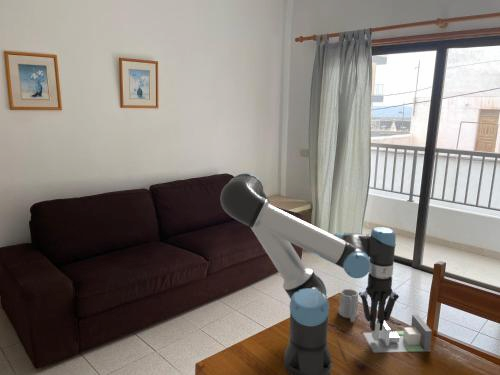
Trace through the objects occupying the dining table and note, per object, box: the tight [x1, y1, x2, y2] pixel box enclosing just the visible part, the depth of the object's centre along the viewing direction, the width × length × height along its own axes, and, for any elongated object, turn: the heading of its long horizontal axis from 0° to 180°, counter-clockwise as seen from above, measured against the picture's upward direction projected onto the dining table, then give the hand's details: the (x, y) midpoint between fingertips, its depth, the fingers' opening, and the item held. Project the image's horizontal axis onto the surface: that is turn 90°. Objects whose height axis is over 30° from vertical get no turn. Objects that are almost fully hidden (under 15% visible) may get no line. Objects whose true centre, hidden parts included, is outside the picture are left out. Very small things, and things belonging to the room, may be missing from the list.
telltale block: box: [403, 326, 421, 345], centre depth 132 cm, size 4×4×4 cm
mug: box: [337, 288, 360, 323], centre depth 147 cm, size 8×12×12 cm, turn 179°
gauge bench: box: [362, 314, 433, 353], centre depth 131 cm, size 19×11×8 cm, turn 92°
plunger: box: [379, 321, 399, 346], centre depth 131 cm, size 5×6×6 cm
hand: (375, 338), depth 131 cm, fingers closed
